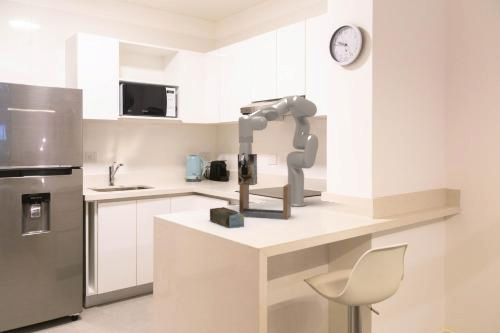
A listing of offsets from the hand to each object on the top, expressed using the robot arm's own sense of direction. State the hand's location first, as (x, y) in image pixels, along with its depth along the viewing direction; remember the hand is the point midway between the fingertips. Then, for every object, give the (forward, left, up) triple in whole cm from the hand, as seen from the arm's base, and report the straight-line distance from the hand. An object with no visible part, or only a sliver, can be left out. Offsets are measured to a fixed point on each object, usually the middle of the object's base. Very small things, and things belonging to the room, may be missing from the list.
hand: (246, 173), depth 219 cm
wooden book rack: (+10, +13, -20) cm, 26 cm away
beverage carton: (+33, 0, -21) cm, 39 cm away
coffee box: (0, +1, -6) cm, 6 cm away
